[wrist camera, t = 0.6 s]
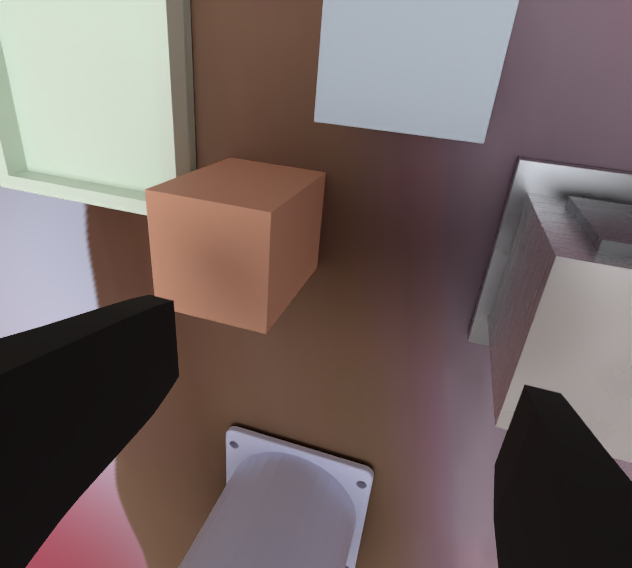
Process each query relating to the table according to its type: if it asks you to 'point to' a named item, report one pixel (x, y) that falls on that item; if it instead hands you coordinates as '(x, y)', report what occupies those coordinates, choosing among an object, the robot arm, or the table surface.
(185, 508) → the table surface
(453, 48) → the slate block
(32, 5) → the tray
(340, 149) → the table surface
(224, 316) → the terracotta block
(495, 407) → the housing
